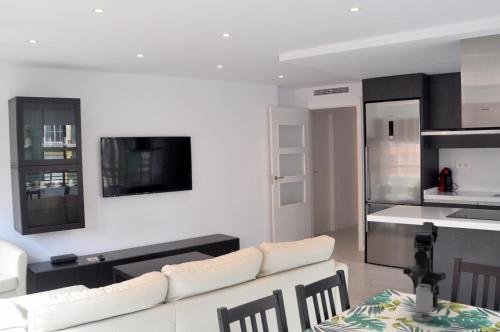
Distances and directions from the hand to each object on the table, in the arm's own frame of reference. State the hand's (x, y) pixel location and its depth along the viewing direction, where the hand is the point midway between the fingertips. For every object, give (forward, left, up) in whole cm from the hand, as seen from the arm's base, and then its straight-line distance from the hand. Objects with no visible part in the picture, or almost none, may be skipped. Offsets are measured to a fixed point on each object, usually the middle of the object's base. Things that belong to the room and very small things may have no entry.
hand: (424, 291), depth 227 cm
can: (0, 0, -9) cm, 9 cm away
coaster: (-1, -1, -13) cm, 13 cm away
